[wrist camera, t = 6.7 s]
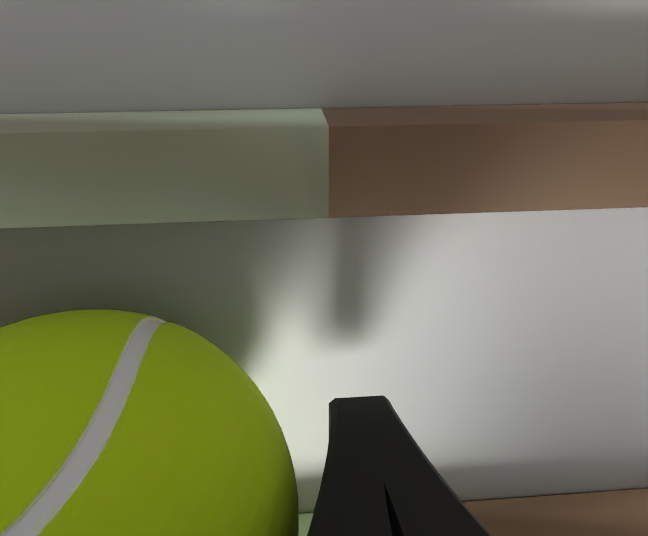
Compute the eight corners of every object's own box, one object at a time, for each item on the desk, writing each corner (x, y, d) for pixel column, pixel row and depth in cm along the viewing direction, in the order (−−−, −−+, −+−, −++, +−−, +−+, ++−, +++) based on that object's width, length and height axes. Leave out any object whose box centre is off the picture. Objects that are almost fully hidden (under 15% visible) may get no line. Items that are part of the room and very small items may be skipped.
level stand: (693, 525, 16) (761, 611, 14) (-81, 586, 14) (-145, 694, 12) (893, 84, 10) (1063, 109, 8) (-344, 104, 9) (-553, 143, 7)
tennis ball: (340, 432, 13) (398, 824, 7) (94, 530, 14) (-49, 957, 8) (192, 184, 10) (61, 490, 4) (-111, 328, 11) (-619, 770, 5)
